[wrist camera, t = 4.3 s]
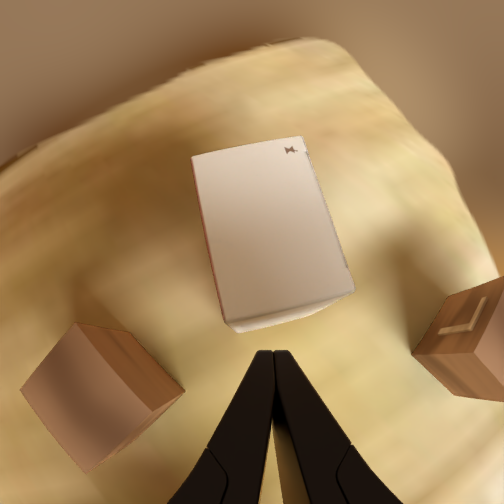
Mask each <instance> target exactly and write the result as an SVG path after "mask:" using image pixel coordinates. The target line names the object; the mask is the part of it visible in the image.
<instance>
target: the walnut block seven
mask: <svg viewBox="0 0 504 504" xmlns="http://www.w3.org/2000/svg"><path fill="white" fill-rule="evenodd" d="M412 356H413V357H414V358H415V359H416V360H417V361H418V362H420V363H421V364H422V365H423V366H424V367H425V368H426V369H427V370H428V371H429V372H430V373H431V374H432V375H433V376H434V377H435V378H436V379H438V380H439V381H440V382H441V383H442V384H443V385H444V386H445V387H446V388H447V389H448V390H449V391H450V392H451V393H452V394H453V395H455V396H461V397H468V398H475V399H483V400H491V401H499V402H504V276H502V277H500V278H497V279H495V280H492V281H489V282H487V283H484V284H482V285H479V286H476V287H473V288H471V289H468V290H465V291H462V292H459V293H457V294H454V295H451V296H448V298H447V299H446V301H445V303H444V305H443V306H442V308H441V310H440V311H439V313H438V315H437V316H436V318H435V320H434V321H433V323H432V324H431V326H430V328H429V329H428V331H427V332H426V334H425V335H424V337H423V338H422V340H421V341H420V343H419V344H418V346H417V347H416V349H415V350H414V352H413V353H412Z"/></svg>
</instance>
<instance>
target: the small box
mask: <svg viewBox="0 0 504 504" xmlns="http://www.w3.org/2000/svg"><path fill="white" fill-rule="evenodd" d="M190 160H191V165H192V171H193V176H194V182H195V187H196V192H197V198H198V203H199V208H200V213H201V219H202V224H203V229H204V234H205V239H206V244H207V249H208V253H209V258H210V262H211V267H212V271H213V276H214V280H215V285H216V289H217V293H218V298H219V302H220V306H221V311H222V315H223V320H224V322H225V323H226V324H227V325H228V326H229V327H230V328H232V329H233V330H234V331H235V332H237V333H242V332H247V331H252V330H256V329H260V328H265V327H269V326H273V325H277V324H281V323H285V322H288V321H292V320H296V319H299V318H303V317H306V316H310V315H312V314H314V313H316V312H318V311H320V310H322V309H324V308H326V307H328V306H329V305H331V304H333V303H335V302H337V301H339V300H341V299H343V298H344V297H346V296H348V295H350V294H352V293H354V292H355V290H356V287H355V284H354V281H353V279H352V276H351V273H350V270H349V268H348V265H347V262H346V259H345V256H344V253H343V250H342V247H341V244H340V241H339V238H338V235H337V232H336V230H335V227H334V224H333V221H332V218H331V215H330V212H329V209H328V206H327V204H326V201H325V198H324V195H323V192H322V190H321V187H320V184H319V182H318V179H317V176H316V173H315V170H314V168H313V165H312V162H311V159H310V156H309V153H308V150H307V147H306V144H305V141H304V138H303V136H294V137H288V138H280V139H275V140H269V141H263V142H257V143H252V144H246V145H241V146H236V147H231V148H226V149H221V150H217V151H212V152H208V153H204V154H200V155H195V156H192V157H191V159H190Z"/></svg>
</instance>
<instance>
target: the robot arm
mask: <svg viewBox="0 0 504 504" xmlns="http://www.w3.org/2000/svg"><path fill="white" fill-rule="evenodd" d="M271 424H272V429H273V437H274V443H275V450H276V457H277V464H278V471H279V477H280V484H281V491H282V498H283V504H403V503H402V502H401V501H400V500H399V499H398V498H397V497H396V496H395V495H394V494H393V493H392V492H391V491H390V490H389V489H388V488H387V486H386V485H385V484H384V483H383V482H382V481H381V480H380V479H379V478H378V477H377V475H376V474H375V473H374V472H373V471H372V470H371V468H370V467H369V466H368V465H367V463H366V462H365V461H364V459H363V458H362V457H361V455H360V454H359V452H358V451H357V450H356V448H355V447H354V445H351V441H350V440H349V438H348V437H347V435H346V434H345V433H344V431H343V430H342V428H341V427H340V425H339V424H338V422H337V421H336V419H335V418H334V417H333V415H332V414H331V412H330V411H329V409H328V408H327V406H326V405H325V403H324V402H323V400H322V399H321V397H320V396H319V395H318V393H317V392H316V390H315V389H314V387H313V386H312V384H311V383H310V381H309V380H308V378H307V377H306V375H305V374H304V372H303V371H302V369H301V368H300V366H299V365H298V363H297V362H296V360H295V359H294V357H293V356H292V354H291V353H290V352H289V351H288V350H275V351H274V352H273V351H271V350H258V351H257V352H256V354H255V356H254V358H253V360H252V362H251V364H250V366H249V368H248V370H247V372H246V374H245V376H244V378H243V380H242V381H241V383H240V385H239V387H238V389H237V391H236V393H235V395H234V397H233V399H232V400H231V402H230V404H229V406H228V408H227V410H226V412H225V414H224V415H223V417H222V419H221V421H220V423H219V425H218V426H217V428H216V430H215V432H214V434H213V436H212V437H211V439H210V441H209V443H208V445H207V448H205V450H204V451H203V453H202V455H201V457H200V458H199V460H198V462H197V463H196V465H195V467H194V468H193V470H192V471H191V473H190V474H189V476H188V477H187V479H186V480H185V481H184V483H183V484H182V485H181V487H180V488H179V489H178V491H177V492H176V493H175V494H174V496H173V497H172V498H171V499H170V500H169V502H168V503H167V504H260V499H261V492H262V486H263V480H264V473H265V467H266V460H267V453H268V446H269V439H270V432H271Z"/></svg>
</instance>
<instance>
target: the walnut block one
mask: <svg viewBox="0 0 504 504" xmlns="http://www.w3.org/2000/svg"><path fill="white" fill-rule="evenodd" d="M20 391H21V392H22V394H23V396H24V397H25V399H26V400H27V401H28V403H29V404H30V406H31V407H32V409H33V410H34V412H35V413H36V414H37V416H38V417H39V419H40V420H41V421H42V423H43V424H44V425H45V427H46V428H47V429H48V430H49V432H50V433H51V434H52V436H53V437H54V438H55V439H56V441H57V442H58V443H59V444H60V445H61V447H62V448H63V449H64V450H65V451H66V453H67V454H68V455H69V456H70V457H71V458H72V460H73V461H74V462H75V463H76V464H77V465H78V466H79V467H80V468H81V469H82V471H83V472H84V473H85V474H87V473H88V472H90V471H91V470H93V469H94V468H96V467H97V466H99V465H100V464H102V463H103V462H104V461H106V460H107V459H109V458H110V457H112V456H113V455H115V454H116V453H118V452H119V451H120V450H122V449H123V448H125V447H126V446H127V445H129V444H130V443H132V442H133V441H134V440H135V439H137V438H138V437H139V436H140V435H141V434H142V433H143V432H144V431H145V430H146V429H147V428H148V427H149V426H150V425H151V424H152V423H154V422H155V421H156V420H157V419H158V418H159V417H160V416H161V415H162V414H163V413H164V412H165V411H166V410H167V409H168V408H169V407H170V406H171V405H172V404H173V403H174V402H175V401H176V400H177V399H178V398H179V397H180V396H181V395H182V394H183V393H184V392H185V390H184V389H183V388H182V387H181V386H180V385H179V384H178V383H177V382H176V381H175V380H174V379H173V378H172V377H171V376H170V375H169V374H168V373H167V372H166V371H165V370H164V369H163V368H162V367H161V366H160V365H159V364H158V363H157V362H156V361H155V360H154V359H153V358H152V357H151V356H150V355H149V353H148V352H147V351H146V350H145V349H144V348H143V347H142V346H141V345H140V344H139V343H138V341H137V340H136V339H135V338H134V337H133V336H132V335H131V334H130V332H125V331H119V330H113V329H108V328H102V327H97V326H92V325H87V324H82V323H77V322H75V323H74V324H73V325H72V326H71V328H70V329H69V330H68V331H67V332H66V333H65V335H64V336H63V337H62V338H61V339H60V340H59V342H58V343H57V344H56V345H55V346H54V348H53V349H52V350H51V351H50V352H49V354H48V355H47V356H46V357H45V359H44V360H43V361H42V362H41V363H40V365H39V366H38V367H37V368H36V370H35V371H34V372H33V373H32V375H31V376H30V377H29V379H28V380H27V381H26V382H25V384H24V385H23V386H22V388H21V389H20Z"/></svg>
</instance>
